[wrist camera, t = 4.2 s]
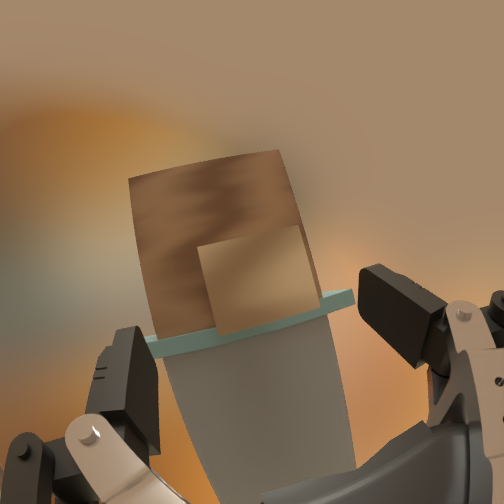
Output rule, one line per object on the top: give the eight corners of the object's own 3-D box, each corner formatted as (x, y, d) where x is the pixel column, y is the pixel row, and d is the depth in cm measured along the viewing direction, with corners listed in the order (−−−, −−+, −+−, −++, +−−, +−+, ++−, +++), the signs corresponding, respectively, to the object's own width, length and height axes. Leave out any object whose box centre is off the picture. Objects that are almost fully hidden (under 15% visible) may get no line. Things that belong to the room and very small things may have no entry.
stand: (254, 590, 10) (125, 346, 14) (247, 563, 15) (144, 336, 19) (381, 546, 12) (351, 288, 17) (362, 525, 17) (321, 292, 21)
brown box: (107, 375, 7) (82, 95, 8) (169, 332, 19) (143, 203, 20) (410, 289, 8) (320, 62, 10) (299, 299, 21) (265, 178, 22)
